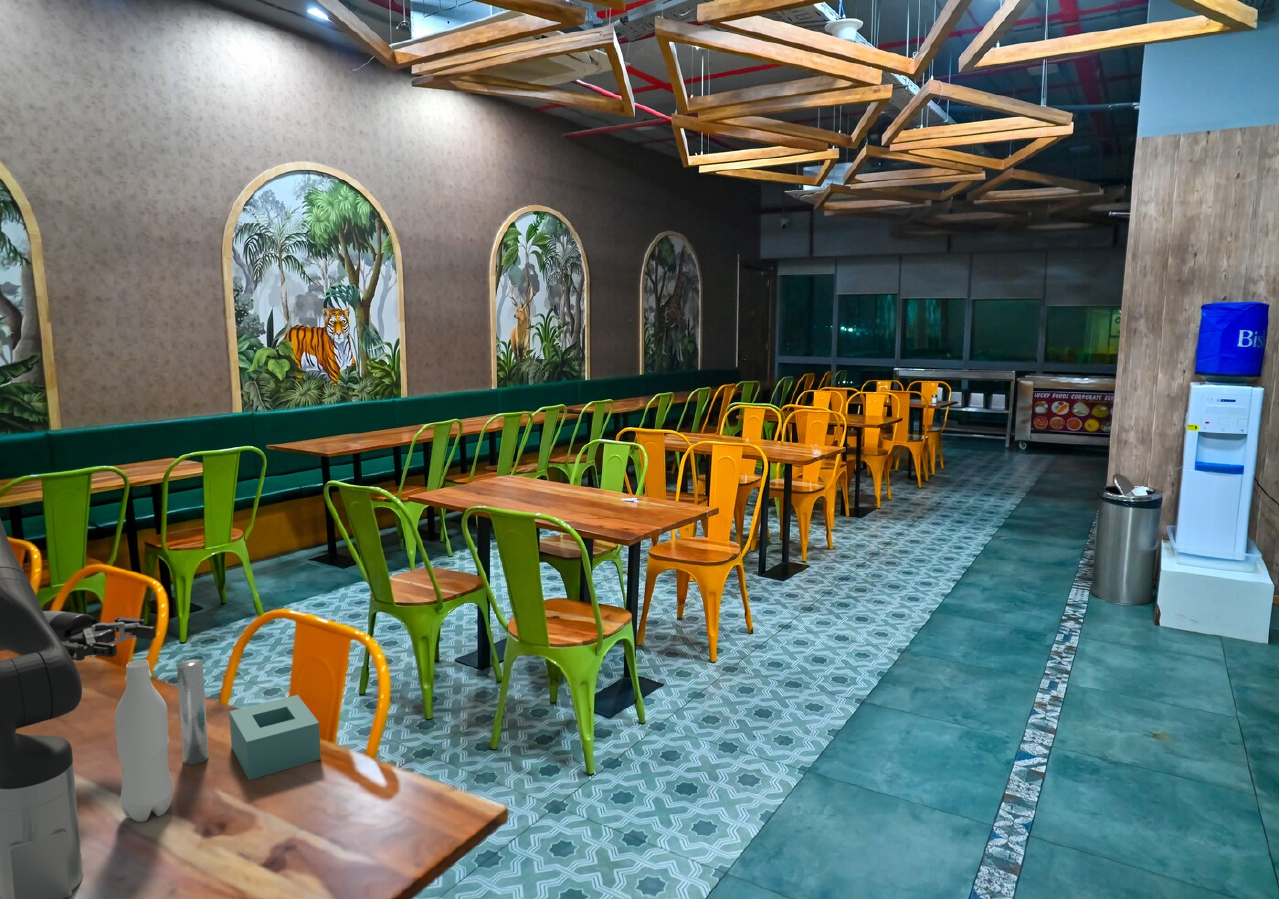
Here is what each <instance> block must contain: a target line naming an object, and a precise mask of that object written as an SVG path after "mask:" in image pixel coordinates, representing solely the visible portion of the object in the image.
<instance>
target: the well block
mask: <svg viewBox="0 0 1279 899" xmlns="http://www.w3.org/2000/svg"><path fill="white" fill-rule="evenodd" d="M229 724H230V725H229V728H230V745H231V746H230V747H231V748H232V751H233V753H234V754H235V756H236V759H237V760H238V762H239V764H240V766H241V768H242V770H243V772H244V773H245V775H246V778H247V780H248V781H251V780H255V779H257V778H261V777H264V776H267V775H271V774H272V775H273V774H274V773H279V772H281V771H284V770H288V769H292V768H297V767H299V766H303V765H306V764H310V763H312V762H316V761H319V760H321V759H322V757H321V756H322V754H321V738H320V737H321V735H320V721H318V719H317V718H316V716H315V715H314V714H313V712H311V710H310V709H309V708H308V706H307V704H305V703H304V701H303V700H302V698H301V697H300V696H299V694H296V695H291V696H288V697H283V698H279V699H275V700H270V701H266V702H262V703H258V704H253V705H250V706H246V707H242V708H237V709H233V710H230V711H229Z"/></svg>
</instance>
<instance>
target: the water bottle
mask: <svg viewBox="0 0 1279 899" xmlns="http://www.w3.org/2000/svg"><path fill="white" fill-rule="evenodd" d="M149 664H150V663H149V661H148V660H147V659H139V660H132V661H129V662H128V663H127V664H126V665H125V671H126V674H125V678H124V681H125V682H126V688H125V690H124V692H123V695H122V696H121V698H120V700H119V702H118V705H117V707H116V709H115V712H114V717H113V722H114V724H115V736H116V746H117V747H116V748H117V750H116V752H117V755H118V758H119V762H120V768H121V774H122V775H121V777H122V779H121V792H120V805H121V809H122V812H123V813H124V815H125V816H126V817H127V818H129V819H132V821H135V822H137V823H139V822H140V823H142V822H146V821H147V820H148V819H149V817H150V815H151V813H152V812H153V813H154V814H155V815H156V816H157V817H160V816H162V815H164V814H165V813H166V812H168V809H169V808H170V805H171V802H172V800H173V795H174V793H173V792H174V784H173V780H172V777H171V774H170V773H171V772H170V770H169V758H168V757H169V755H168V753H169V742H170V737H169V726H168V725H169V724H168V711H169V710H168V705H167V703H166V701H165V700H164V698H163V697H162V695H161V694H160V692H159V691H158V690H157V689H156V687H155V686H154V685H153V683H152V681H151V678H152V677H153V676H152V673H151V670H150V665H149Z"/></svg>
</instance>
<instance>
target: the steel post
mask: <svg viewBox="0 0 1279 899" xmlns="http://www.w3.org/2000/svg"><path fill="white" fill-rule="evenodd" d="M176 673H177V674H176V675H177V684H178V686H177V687H178V688H177V689H178V702H179V712H180V714H179V715H180V729H181V741H182V742H181V745H182V758H183V760H182V761H183V764H184V765H188V766H194V765H199V764H202V763H205V761H207V760H208V759H209V757H210V755H209V742H208V740H209V739H208V738H209V737H208V724H207V708H206V694H205V693H206V692H205V690H206V689H205V679H204V678H205V676H204V675H205V674H204V662H203V660H202V659H198V658H196V659H195V658H193V659H187V660H183V661H181V662H179V663H177V665H176Z"/></svg>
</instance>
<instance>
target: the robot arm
mask: <svg viewBox="0 0 1279 899" xmlns="http://www.w3.org/2000/svg"><path fill="white" fill-rule="evenodd" d="M36 594H37V593H36V592H35V591H34V588H33V586H32V584H31V582H30V580H29V578H28V576H27V575H26V572H25V571H24V569H23V568H22V566H21V565H20V563H19V560H18V559H17V557H16V555H15V553H14V552H13V549H12V546H11V544H10V541H9V539H8V535H7V532H6V529H5V527H4V524H3V521H2V519H1V518H0V652H2V651H10V652H13V653H14V654H17V655H19V656H15V657H14V656H13V657H10V658H7V659H2V660H0V899H66V898H69V897H71V896H73V891H74V890H75V888H76V887H78V885H79V884H80V883H81V882H82V880H83V877H84V870H83V858H82V847H81V836H80V827H79V815H78V806H77V802H78V801H77V794H76V792H77V791H76V783H75V782H76V781H75V780H76V779H75V770H74V757H73V748H72V745H71V743H70V742H69V741H68V740H67V739H65V738H63V737H59V736H56V735H55V736H53V735H27V734H22V733H18V732H16V731H17V730H18V729H21V728H25V727H28V726H32V725H35V724H38V723H42V722H45V721H48V720H54V719H56V718H58V717H62V716H64V715H67V714H69V713H71V712H73V711H75V709H76V708H78V706H79V704H80V702H81V699H82V694H83V686H82V685H83V684H82V680H81V676H80V673H79V670H78V667H77V665H76V663H75V661H77V662H79V661H84V660H85V659H86V657H89V658H94V657H97V656H99V657H104V658H105V657H106V658H114V657H116V656H118V648H117V644H115V643H122V642H123V643H124V642H125V641H126V640H127V639H143V640H154V639H156V637H157V635H156V633H157V631H156V628H155V627H154V626H150V625H149V626H147V625H146V624H145V619H143V618H134V617H133V618H132V617H121V616H119V617H118V616H117V617H115V618H114V622H110V623H107V622H98V621H97V620H96V619H95V618H94V617H93V615H90V614H87V613H86V614H85V613H77V612H71V611H60V610H43V609H42V607H41V605H40V602H39V600H38V597H37V595H36ZM117 633H118V634H119V637H117V636H116V634H117Z"/></svg>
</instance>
